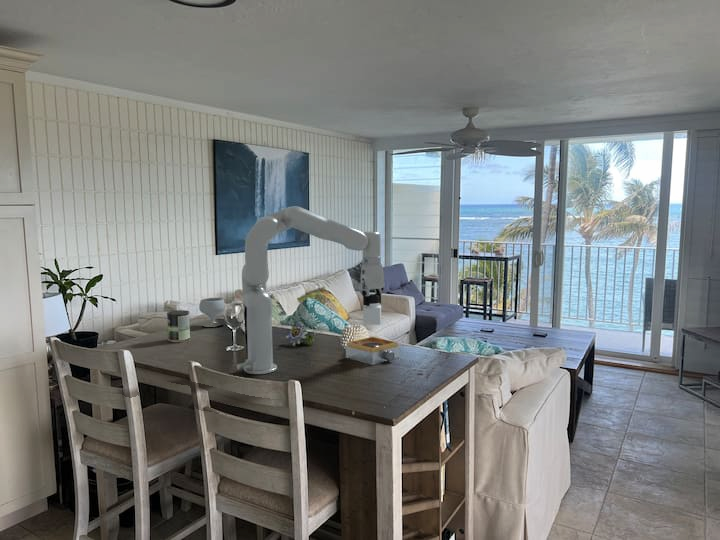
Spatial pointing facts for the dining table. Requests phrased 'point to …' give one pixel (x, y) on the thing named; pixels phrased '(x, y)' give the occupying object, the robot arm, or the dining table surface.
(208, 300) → the chalice
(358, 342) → the box
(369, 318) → the medicine bottle
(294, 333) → the passion flower
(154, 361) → the dining table surface
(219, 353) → the dining table surface
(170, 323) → the coffee can
